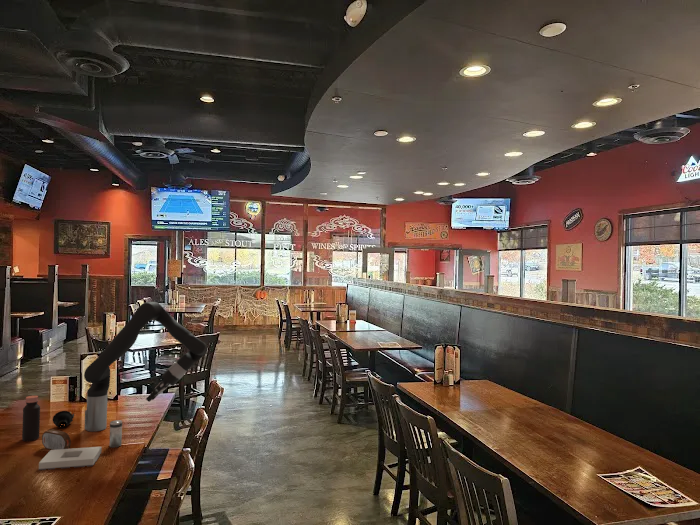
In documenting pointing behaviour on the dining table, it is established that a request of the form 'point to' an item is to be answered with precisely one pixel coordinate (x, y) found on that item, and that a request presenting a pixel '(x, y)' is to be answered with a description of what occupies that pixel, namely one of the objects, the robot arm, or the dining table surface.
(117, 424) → the canister
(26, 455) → the dining table surface
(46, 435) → the tin
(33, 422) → the bottle
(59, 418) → the fried shrimp in bowl
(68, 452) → the block
